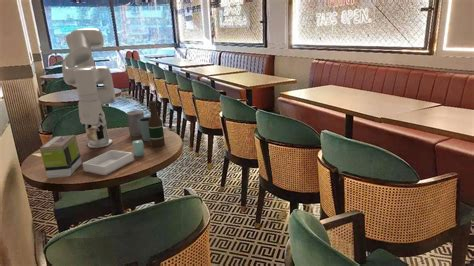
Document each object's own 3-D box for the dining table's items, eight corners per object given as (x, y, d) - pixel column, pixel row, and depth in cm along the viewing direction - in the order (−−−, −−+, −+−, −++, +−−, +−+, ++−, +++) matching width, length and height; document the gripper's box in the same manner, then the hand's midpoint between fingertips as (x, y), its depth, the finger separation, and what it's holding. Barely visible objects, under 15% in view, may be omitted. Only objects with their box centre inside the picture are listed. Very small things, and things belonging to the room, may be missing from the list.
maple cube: (87, 140, 145) (85, 129, 143) (96, 136, 149) (94, 126, 147) (96, 141, 143) (94, 130, 141) (105, 137, 147) (103, 126, 145)
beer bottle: (161, 147, 175) (156, 103, 167) (148, 147, 176) (142, 103, 169) (167, 142, 182) (162, 99, 175) (154, 142, 183) (148, 100, 176)
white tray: (83, 171, 149) (82, 163, 148) (112, 157, 164) (111, 149, 163) (106, 175, 144) (104, 166, 142) (133, 160, 159) (132, 152, 158)
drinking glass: (162, 137, 191) (160, 117, 187) (149, 143, 183) (147, 122, 179) (150, 135, 196) (147, 115, 193) (137, 140, 188) (134, 120, 185)
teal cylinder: (132, 155, 165) (130, 142, 163) (138, 152, 169) (137, 139, 167) (140, 157, 163) (138, 143, 161) (146, 153, 167) (144, 140, 165)
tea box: (61, 165, 158) (54, 135, 154) (82, 163, 159) (76, 134, 154) (46, 178, 144) (38, 146, 139) (70, 176, 144) (63, 145, 140)
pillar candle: (133, 131, 205) (129, 108, 201) (148, 131, 205) (145, 107, 200) (127, 136, 196) (123, 112, 191) (143, 136, 196) (140, 111, 191)
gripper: (67, 98, 140) (75, 139, 146) (96, 100, 133) (104, 142, 139) (81, 95, 147) (89, 134, 152) (110, 96, 140) (117, 137, 145)
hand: (96, 138), depth 146 cm, fingers closed on maple cube, 5 cm apart
